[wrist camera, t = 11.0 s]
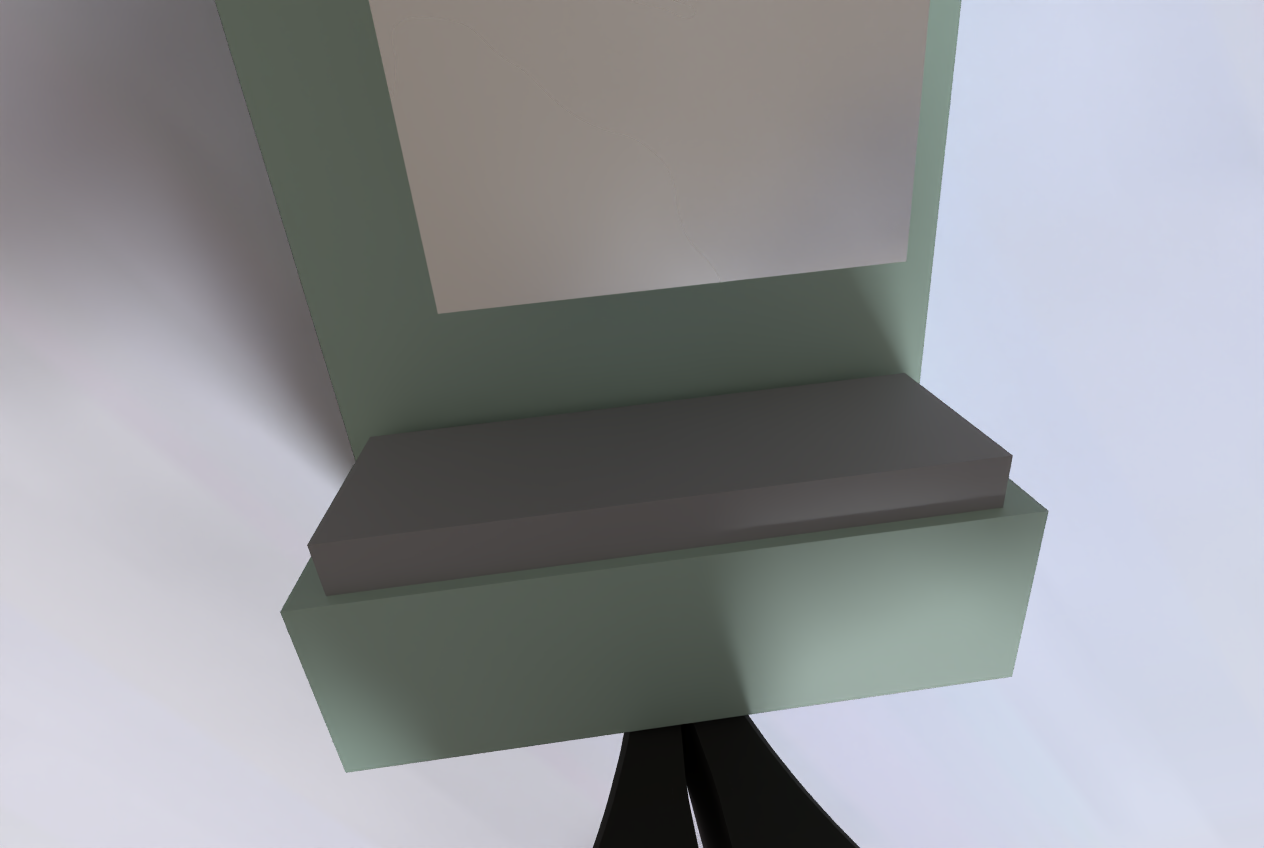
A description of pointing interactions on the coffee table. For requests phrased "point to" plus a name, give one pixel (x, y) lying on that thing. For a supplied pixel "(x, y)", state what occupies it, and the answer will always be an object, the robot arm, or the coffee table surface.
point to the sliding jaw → (660, 569)
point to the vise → (546, 331)
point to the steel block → (651, 140)
